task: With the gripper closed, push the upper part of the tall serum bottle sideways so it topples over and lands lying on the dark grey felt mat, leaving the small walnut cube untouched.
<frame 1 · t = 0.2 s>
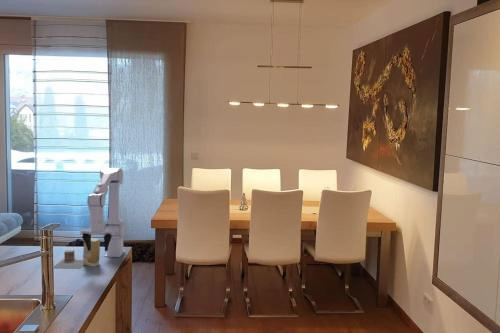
hand: (97, 250, 212), 10 cm above the worktop, tool pointing down, fingers open, 7 cm apart
walnut cube: (69, 259, 230), on the worktop, tilted 5°, touching felt mat
felt mat: (71, 264, 223), on the worktop
skincare box: (91, 265, 223), on the worktop, touching felt mat
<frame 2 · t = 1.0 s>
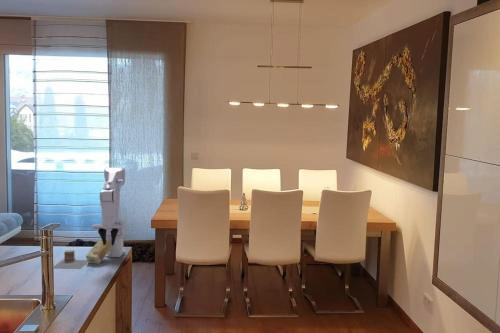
hand: (108, 244, 221), 10 cm above the worktop, tool pointing down, fingers open, 3 cm apart
skincare box: (92, 260, 223), point 2 cm above the worktop, touching arm
everything else where it was.
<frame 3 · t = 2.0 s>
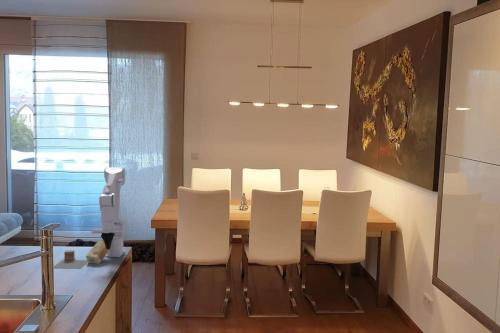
hand: (108, 248, 221), 8 cm above the worktop, tool pointing down, fingers closed
nothing on the worktop moved.
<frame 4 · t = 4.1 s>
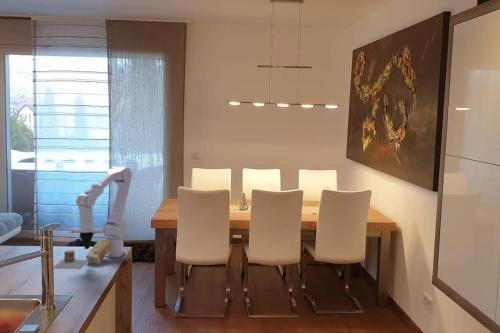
hand: (87, 248, 222), 8 cm above the worktop, tool pointing down, fingers closed
nothing on the worktop moved.
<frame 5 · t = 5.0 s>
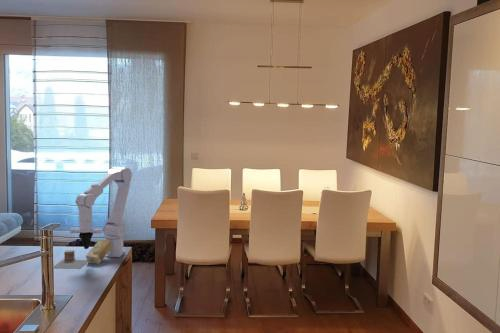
hand: (86, 248, 222), 8 cm above the worktop, tool pointing down, fingers closed
nothing on the worktop moved.
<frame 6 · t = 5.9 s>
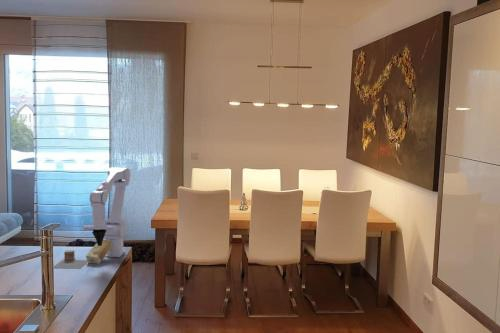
hand: (99, 245, 221), 9 cm above the worktop, tool pointing down, fingers closed
nothing on the worktop moved.
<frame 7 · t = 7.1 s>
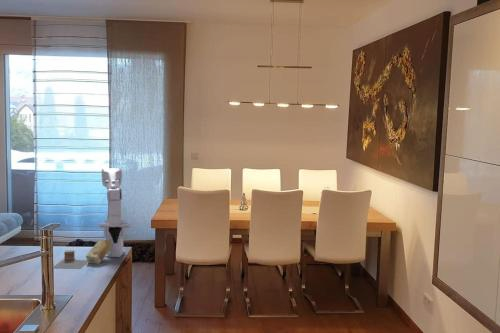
hand: (115, 242, 223), 10 cm above the worktop, tool pointing down, fingers closed
nothing on the worktop moved.
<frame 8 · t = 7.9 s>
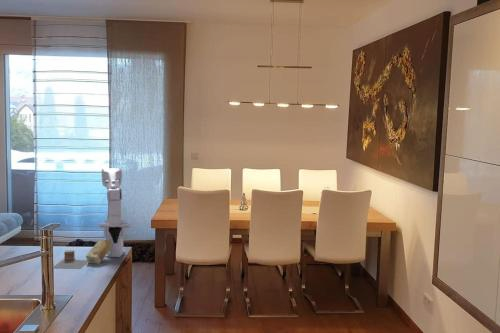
hand: (115, 242, 223), 10 cm above the worktop, tool pointing down, fingers closed
nothing on the worktop moved.
at the end: skincare box tilted 64°; skincare box inside the target area (8.2 cm from its centre), point 1.9 cm above the worktop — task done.
